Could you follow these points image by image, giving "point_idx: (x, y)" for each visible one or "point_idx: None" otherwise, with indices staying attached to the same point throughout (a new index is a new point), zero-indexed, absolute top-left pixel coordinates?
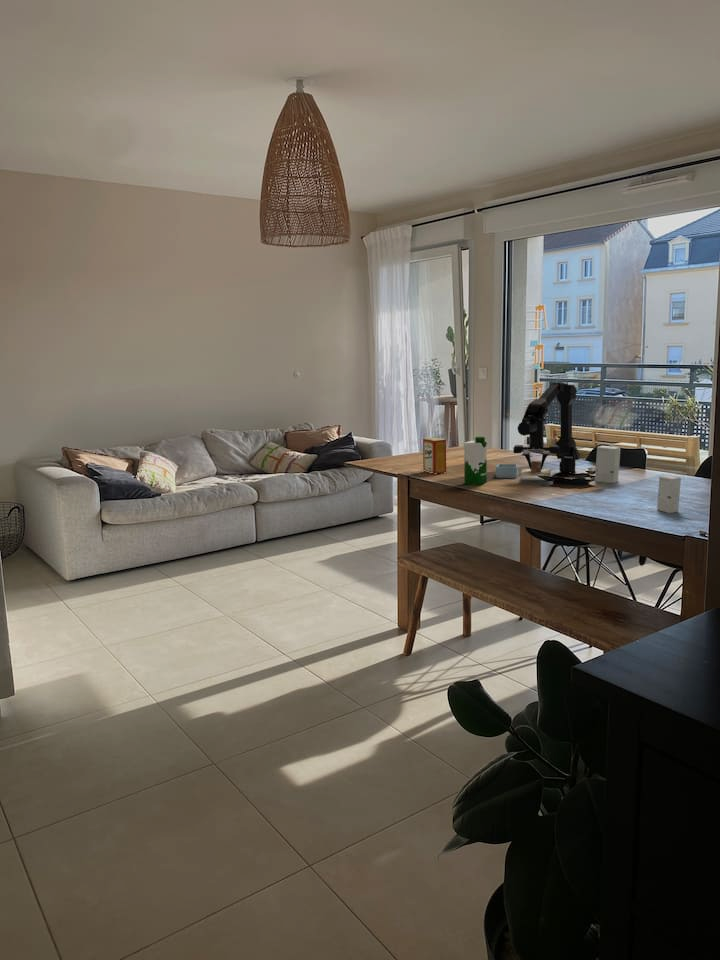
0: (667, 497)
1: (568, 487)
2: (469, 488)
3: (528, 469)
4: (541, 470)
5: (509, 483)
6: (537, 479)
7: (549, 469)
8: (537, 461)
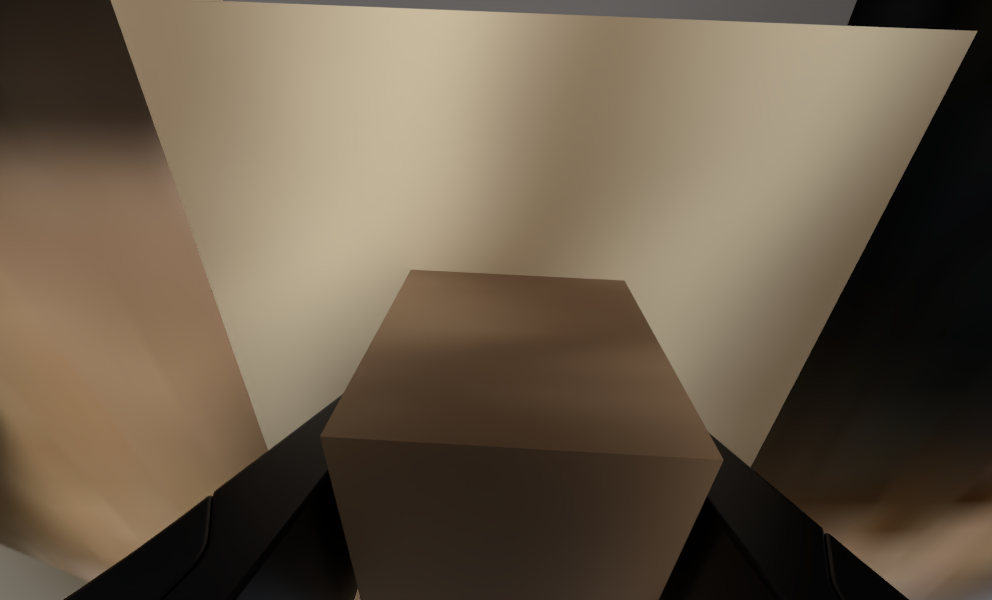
0: None
1: (807, 501)
2: (3, 534)
3: (314, 126)
4: (637, 261)
5: (215, 360)
6: None
7: (899, 101)
8: (564, 474)
